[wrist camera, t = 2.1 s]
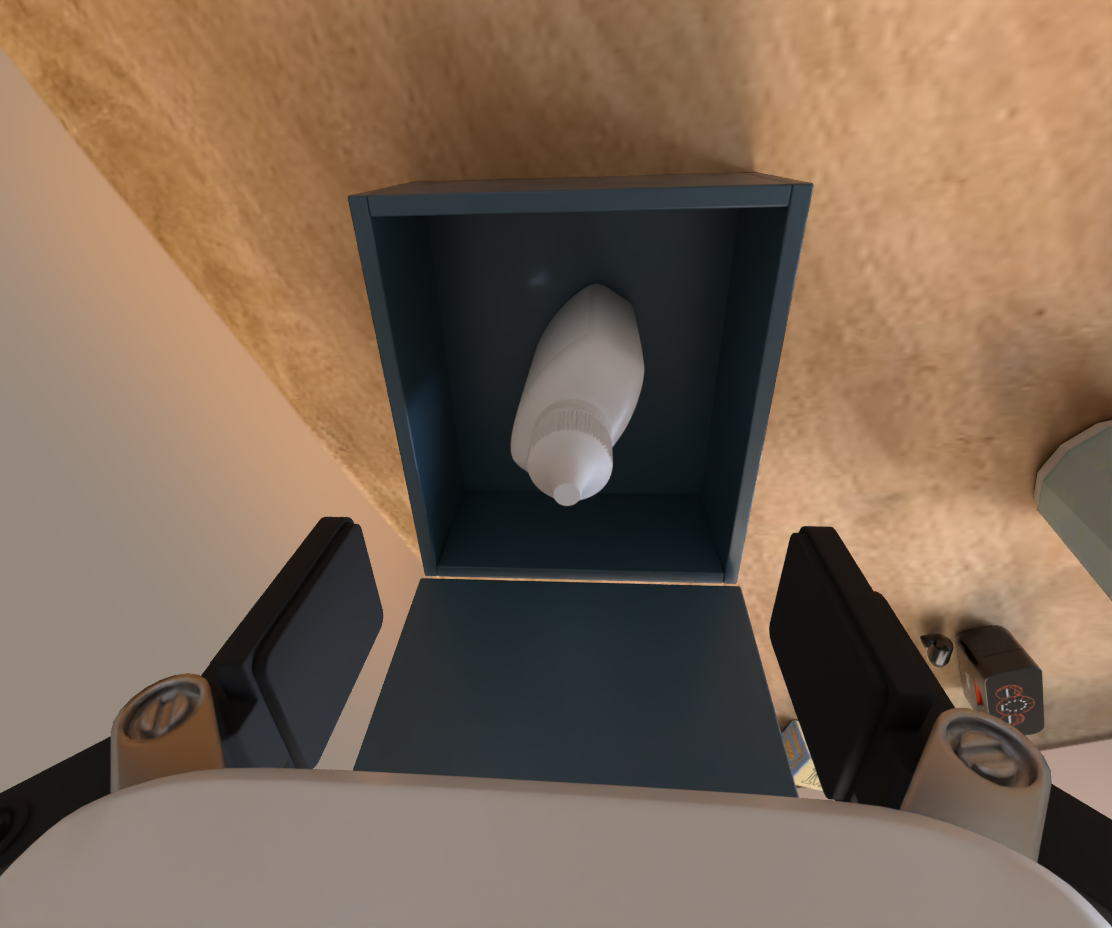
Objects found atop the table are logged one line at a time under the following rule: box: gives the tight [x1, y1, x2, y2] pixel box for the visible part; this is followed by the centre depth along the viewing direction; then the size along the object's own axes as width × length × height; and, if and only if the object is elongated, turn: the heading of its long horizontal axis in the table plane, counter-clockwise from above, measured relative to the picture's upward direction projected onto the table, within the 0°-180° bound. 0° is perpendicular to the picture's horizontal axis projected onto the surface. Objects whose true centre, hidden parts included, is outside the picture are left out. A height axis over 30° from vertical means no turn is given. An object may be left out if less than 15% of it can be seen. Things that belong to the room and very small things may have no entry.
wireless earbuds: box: [920, 625, 1044, 735], centre depth 32 cm, size 5×7×3 cm, turn 25°
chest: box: [348, 172, 813, 584], centre depth 22 cm, size 15×14×7 cm
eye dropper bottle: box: [511, 283, 644, 506], centre depth 19 cm, size 4×6×12 cm
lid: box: [353, 578, 799, 798], centre depth 18 cm, size 16×14×5 cm
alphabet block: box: [781, 720, 823, 791], centre depth 37 cm, size 3×3×3 cm
